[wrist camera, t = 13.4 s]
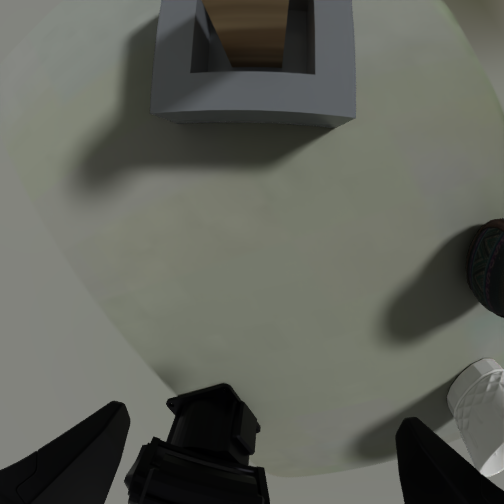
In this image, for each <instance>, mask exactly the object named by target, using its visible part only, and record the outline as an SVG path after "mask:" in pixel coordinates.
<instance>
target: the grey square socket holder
mask: <svg viewBox="0 0 504 504" xmlns="http://www.w3.org/2000/svg"><path fill="white" fill-rule="evenodd" d="M150 114H152V115H155V116H158V117H161V118H163V119H166V120H169V121H172V122H174V123H177V124H183V123H222V122H236V123H274V124H293V125H307V126H319V127H330V128H337V127H339V126H341V125H343V124H345V123H347V122H349V121H351V120H353V119H355V118H356V68H355V42H354V25H353V11H352V0H289V5H288V14H287V24H286V33H285V43H284V52H283V61H282V68H276V67H232V66H231V64H230V61H229V59H228V57H227V55H226V52H225V50H224V48H223V46H222V43H221V41H220V39H219V37H218V34H217V32H216V30H215V28H214V26H213V24H212V21H211V19H210V17H209V15H208V13H207V11H206V9H205V6H204V4H203V2H202V0H161V7H160V13H159V20H158V28H157V35H156V44H155V53H154V63H153V74H152V87H151V102H150Z"/></svg>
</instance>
